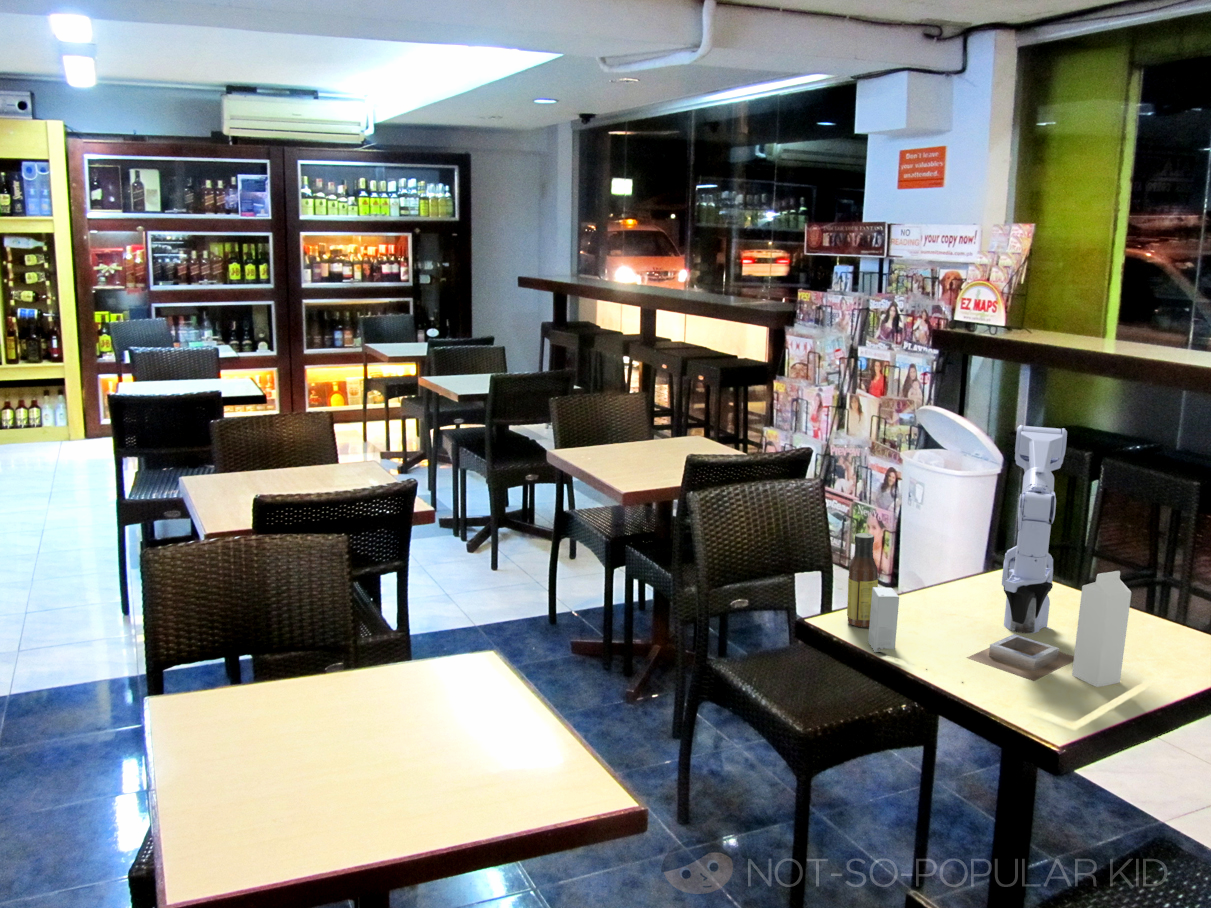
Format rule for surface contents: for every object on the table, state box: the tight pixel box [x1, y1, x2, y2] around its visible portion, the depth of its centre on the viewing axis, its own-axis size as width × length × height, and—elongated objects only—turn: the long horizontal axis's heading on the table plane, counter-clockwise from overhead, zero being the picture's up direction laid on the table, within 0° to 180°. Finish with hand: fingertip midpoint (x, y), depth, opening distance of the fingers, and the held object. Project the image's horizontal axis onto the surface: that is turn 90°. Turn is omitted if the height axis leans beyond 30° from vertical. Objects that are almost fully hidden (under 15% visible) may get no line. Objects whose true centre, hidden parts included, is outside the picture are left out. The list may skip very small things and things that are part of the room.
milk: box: [1071, 570, 1132, 688], centre depth 198 cm, size 6×6×22 cm
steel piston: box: [1010, 595, 1037, 634], centre depth 208 cm, size 4×4×7 cm
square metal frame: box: [989, 633, 1060, 671], centre depth 209 cm, size 9×9×2 cm
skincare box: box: [867, 586, 900, 653], centre depth 214 cm, size 6×4×12 cm
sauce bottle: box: [846, 532, 879, 629], centre depth 227 cm, size 7×6×20 cm
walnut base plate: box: [966, 647, 1074, 682], centre depth 209 cm, size 18×14×1 cm
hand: (1024, 619), depth 208 cm, fingers closed on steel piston, 4 cm apart
